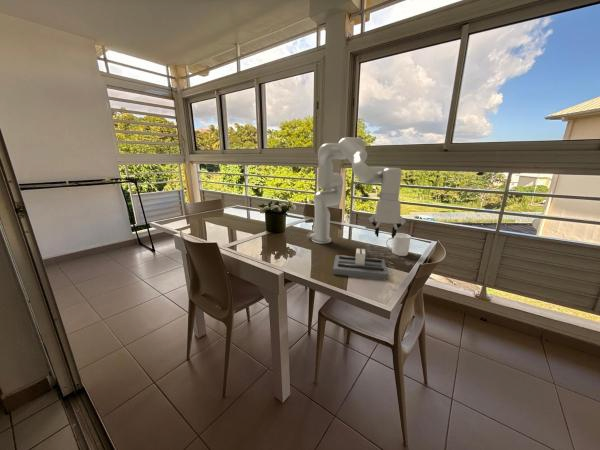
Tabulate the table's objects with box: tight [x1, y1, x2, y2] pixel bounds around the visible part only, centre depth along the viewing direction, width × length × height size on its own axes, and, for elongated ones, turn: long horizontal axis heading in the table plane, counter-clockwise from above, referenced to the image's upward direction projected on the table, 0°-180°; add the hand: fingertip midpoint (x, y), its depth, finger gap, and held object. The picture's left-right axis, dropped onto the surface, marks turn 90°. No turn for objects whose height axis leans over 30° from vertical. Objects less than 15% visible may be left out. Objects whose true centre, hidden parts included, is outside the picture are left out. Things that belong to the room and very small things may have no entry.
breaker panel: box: [332, 254, 389, 281], centre depth 115 cm, size 24×16×4 cm, turn 78°
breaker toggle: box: [355, 248, 366, 266], centre depth 114 cm, size 4×6×6 cm, turn 167°
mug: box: [386, 232, 411, 257], centre depth 134 cm, size 9×12×11 cm
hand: (384, 236), depth 109 cm, fingers open, 6 cm apart
